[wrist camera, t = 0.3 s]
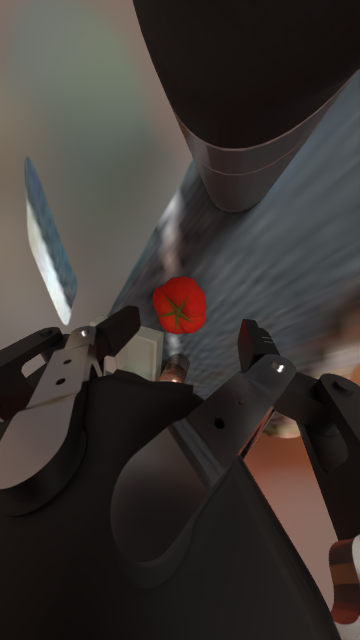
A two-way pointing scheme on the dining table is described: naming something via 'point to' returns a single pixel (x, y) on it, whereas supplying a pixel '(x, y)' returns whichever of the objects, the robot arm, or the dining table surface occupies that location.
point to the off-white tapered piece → (117, 360)
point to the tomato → (180, 305)
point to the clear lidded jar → (175, 369)
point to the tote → (142, 352)
